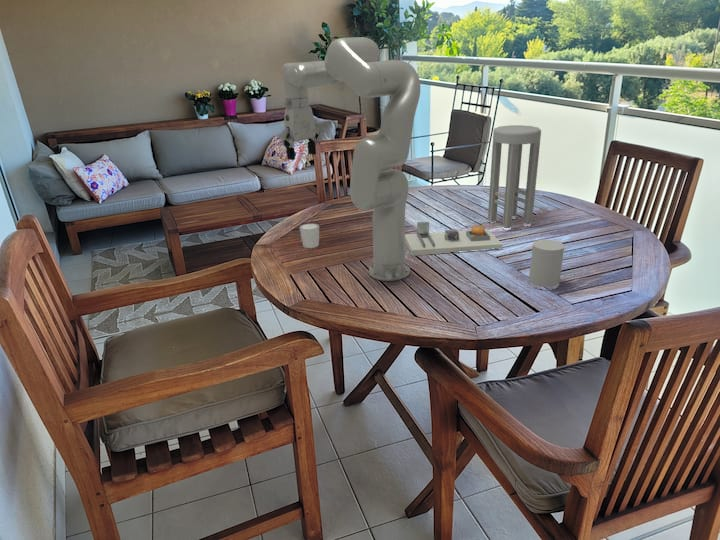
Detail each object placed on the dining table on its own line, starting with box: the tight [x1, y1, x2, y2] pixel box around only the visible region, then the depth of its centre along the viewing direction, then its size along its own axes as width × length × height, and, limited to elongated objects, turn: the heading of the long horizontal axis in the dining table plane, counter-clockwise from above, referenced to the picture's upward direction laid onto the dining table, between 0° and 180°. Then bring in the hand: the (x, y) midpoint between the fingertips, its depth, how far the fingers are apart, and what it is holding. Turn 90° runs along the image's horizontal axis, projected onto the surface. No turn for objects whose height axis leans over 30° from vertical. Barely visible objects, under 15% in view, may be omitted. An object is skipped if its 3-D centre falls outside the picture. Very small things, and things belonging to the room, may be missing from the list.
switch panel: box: [405, 228, 503, 257], centre depth 176 cm, size 15×30×4 cm, turn 95°
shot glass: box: [299, 223, 320, 249], centre depth 180 cm, size 7×7×7 cm
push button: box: [470, 224, 486, 235], centre depth 176 cm, size 4×4×2 cm
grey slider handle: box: [416, 221, 430, 238], centre depth 179 cm, size 3×4×5 cm
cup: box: [528, 239, 565, 287], centre depth 144 cm, size 8×8×12 cm
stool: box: [487, 124, 542, 228], centre depth 186 cm, size 16×16×35 cm
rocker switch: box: [444, 229, 459, 237], centre depth 175 cm, size 6×3×2 cm, turn 5°
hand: (301, 156), depth 175 cm, fingers open, 9 cm apart
